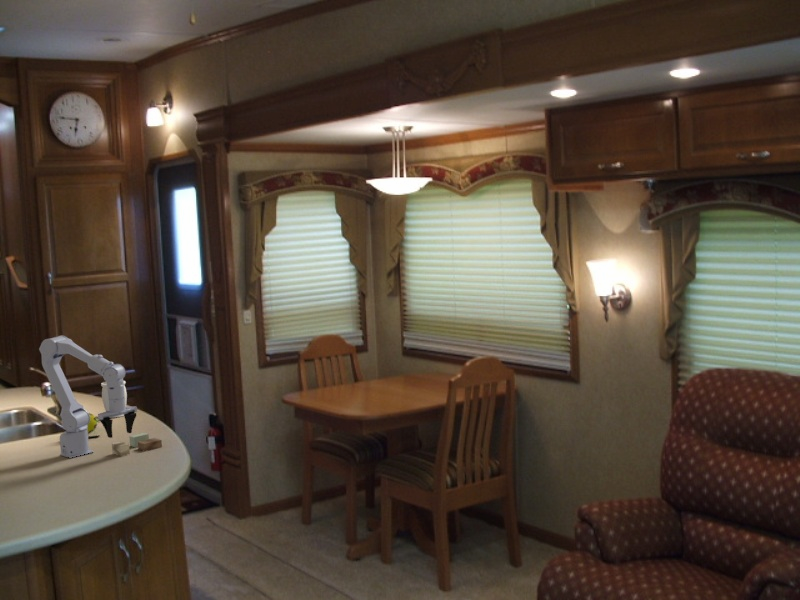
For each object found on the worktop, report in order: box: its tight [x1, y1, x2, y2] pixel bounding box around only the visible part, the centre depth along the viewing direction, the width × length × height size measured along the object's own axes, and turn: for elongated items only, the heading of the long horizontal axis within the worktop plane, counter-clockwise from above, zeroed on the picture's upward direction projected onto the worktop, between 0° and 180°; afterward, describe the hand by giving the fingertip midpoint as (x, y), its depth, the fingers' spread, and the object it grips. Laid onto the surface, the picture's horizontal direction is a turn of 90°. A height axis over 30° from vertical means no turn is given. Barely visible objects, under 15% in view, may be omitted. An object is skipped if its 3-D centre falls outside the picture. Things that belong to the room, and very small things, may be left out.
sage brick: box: [129, 432, 150, 448], centre depth 342 cm, size 6×4×4 cm, turn 136°
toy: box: [87, 412, 100, 438], centre depth 368 cm, size 9×10×30 cm
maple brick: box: [111, 441, 131, 457], centre depth 330 cm, size 6×4×4 cm, turn 46°
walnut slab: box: [137, 437, 163, 452], centre depth 336 cm, size 7×5×3 cm
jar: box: [100, 380, 128, 419], centre depth 395 cm, size 11×10×15 cm
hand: (119, 435), depth 329 cm, fingers open, 7 cm apart
